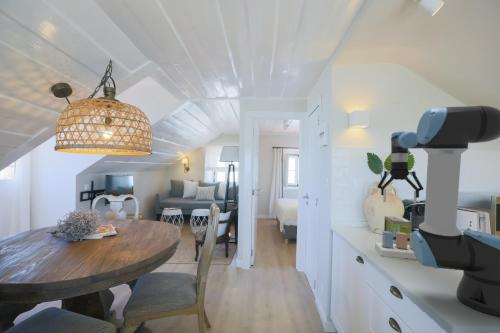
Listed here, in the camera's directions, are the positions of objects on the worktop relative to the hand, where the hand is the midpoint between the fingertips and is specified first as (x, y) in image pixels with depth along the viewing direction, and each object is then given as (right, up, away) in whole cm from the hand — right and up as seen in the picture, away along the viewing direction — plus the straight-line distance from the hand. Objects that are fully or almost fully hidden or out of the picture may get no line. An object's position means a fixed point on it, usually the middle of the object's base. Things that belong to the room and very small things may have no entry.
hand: (399, 202), depth 126 cm
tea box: (+11, -27, +21) cm, 36 cm away
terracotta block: (+2, -23, +1) cm, 23 cm away
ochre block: (+8, -23, 0) cm, 25 cm away
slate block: (-4, -23, +3) cm, 24 cm away
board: (+2, -27, +1) cm, 27 cm away
